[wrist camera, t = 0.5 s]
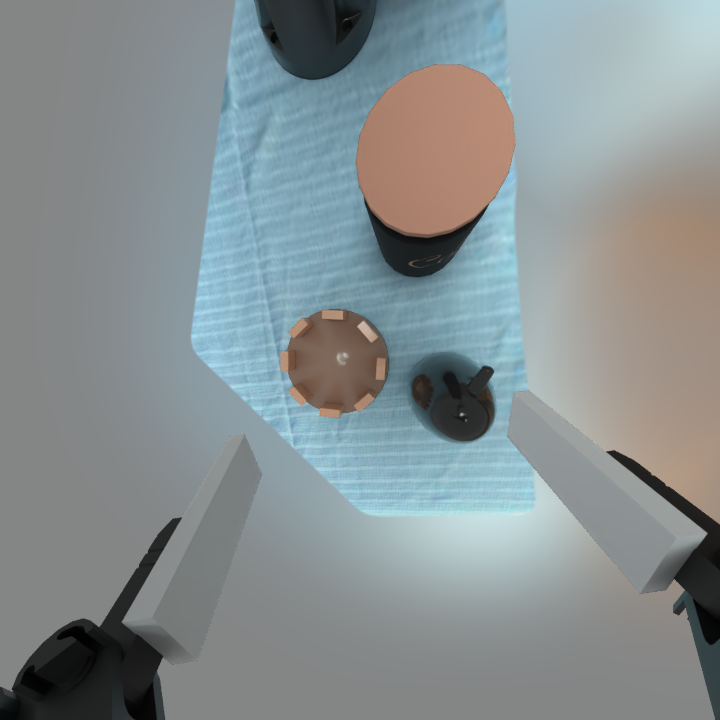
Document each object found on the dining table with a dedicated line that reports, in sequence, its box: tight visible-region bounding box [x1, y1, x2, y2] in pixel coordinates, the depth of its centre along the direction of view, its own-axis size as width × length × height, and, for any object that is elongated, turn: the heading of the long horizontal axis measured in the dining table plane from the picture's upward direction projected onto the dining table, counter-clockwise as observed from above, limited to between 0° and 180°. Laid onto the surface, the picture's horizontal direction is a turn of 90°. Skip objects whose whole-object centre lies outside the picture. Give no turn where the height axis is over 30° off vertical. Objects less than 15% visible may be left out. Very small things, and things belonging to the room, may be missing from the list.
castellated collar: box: [281, 309, 389, 418], centre depth 38 cm, size 16×16×3 cm
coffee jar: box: [356, 64, 515, 277], centre depth 26 cm, size 11×11×18 cm
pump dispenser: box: [407, 352, 497, 444], centre depth 30 cm, size 10×10×15 cm
